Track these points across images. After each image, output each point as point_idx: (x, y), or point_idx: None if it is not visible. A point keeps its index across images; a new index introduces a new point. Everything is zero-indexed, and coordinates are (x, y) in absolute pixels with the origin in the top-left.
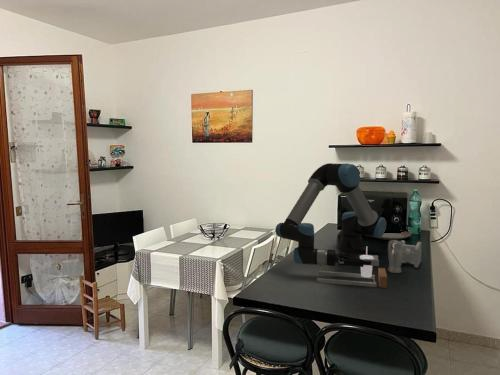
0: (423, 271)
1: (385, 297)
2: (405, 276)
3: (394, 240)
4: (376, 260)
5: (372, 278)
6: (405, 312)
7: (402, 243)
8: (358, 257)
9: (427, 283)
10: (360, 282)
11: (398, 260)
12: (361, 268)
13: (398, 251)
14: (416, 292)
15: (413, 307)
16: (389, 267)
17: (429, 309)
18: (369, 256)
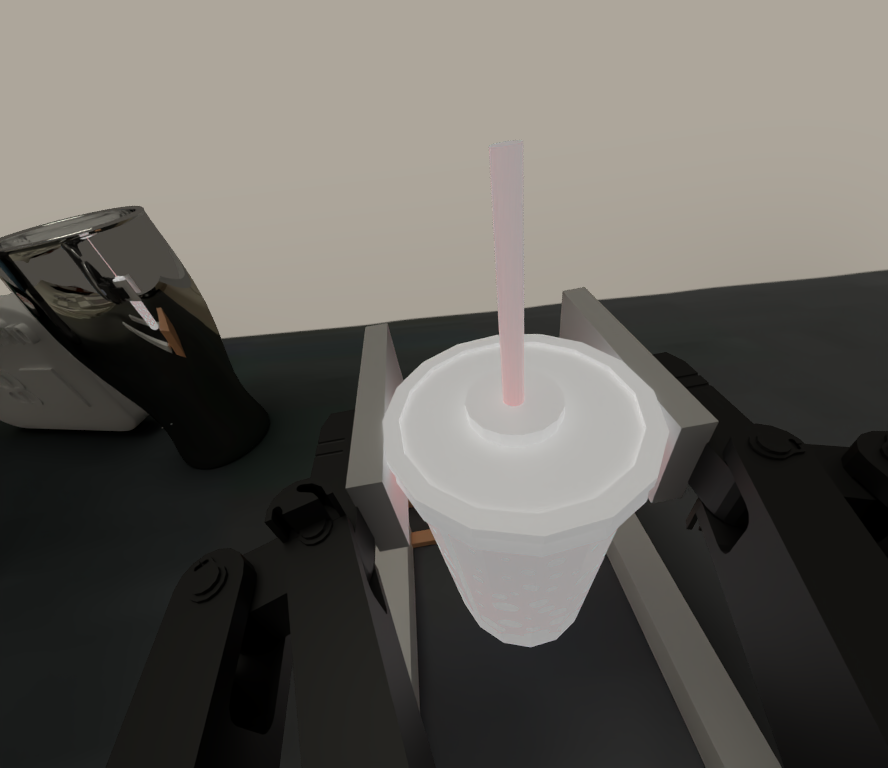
0: (248, 344)
1: (769, 420)
2: (324, 385)
3: (3, 237)
4: (598, 305)
5: (412, 551)
6: (878, 329)
7: (125, 215)
8: (389, 631)
9: (409, 321)
10: (705, 640)
11: (224, 348)
12: (579, 593)
13: (190, 280)
14: (550, 332)
15: (765, 318)
16: (210, 441)
17: (721, 288)
18: (448, 385)
